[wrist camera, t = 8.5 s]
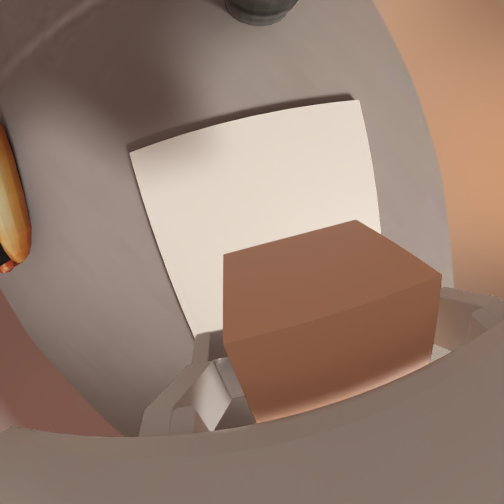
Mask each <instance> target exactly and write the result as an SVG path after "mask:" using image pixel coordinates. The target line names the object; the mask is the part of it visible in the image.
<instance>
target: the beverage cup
mask: <svg viewBox="0 0 504 504" xmlns="http://www.w3.org/2000/svg"><path fill="white" fill-rule="evenodd" d="M297 1H298V0H225V3H226V7H227V9H228V12H229V13H230V14H231V15H232V16H233V17H234V18H235V19H237V20H238V21H240V22H242V23H245V24H248V25H254V26H265V25H271V24H273V23H276V22H278V21H280V20H281V19H282V18H283V17H284V16H285V15H286V13H287V12H288V11H289V10H291V9H292V8H293V6H294V5H295V4H296V2H297Z"/></svg>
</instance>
